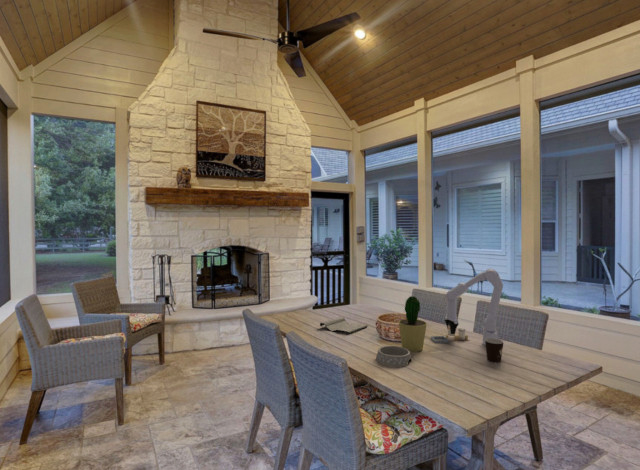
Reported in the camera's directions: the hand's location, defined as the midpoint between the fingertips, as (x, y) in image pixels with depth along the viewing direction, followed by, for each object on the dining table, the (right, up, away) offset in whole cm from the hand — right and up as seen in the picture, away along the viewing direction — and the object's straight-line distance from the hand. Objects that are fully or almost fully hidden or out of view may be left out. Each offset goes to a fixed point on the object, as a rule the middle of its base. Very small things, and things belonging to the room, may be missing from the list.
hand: (451, 332), depth 227 cm
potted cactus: (-27, -5, -14) cm, 31 cm away
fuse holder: (+3, -5, 0) cm, 6 cm away
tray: (-8, -5, -3) cm, 10 cm away
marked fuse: (0, -1, 0) cm, 1 cm away
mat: (-63, -5, +27) cm, 69 cm away
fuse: (+6, -4, 0) cm, 8 cm away
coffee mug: (+12, -6, -32) cm, 35 cm away
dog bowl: (-41, -6, -33) cm, 53 cm away
